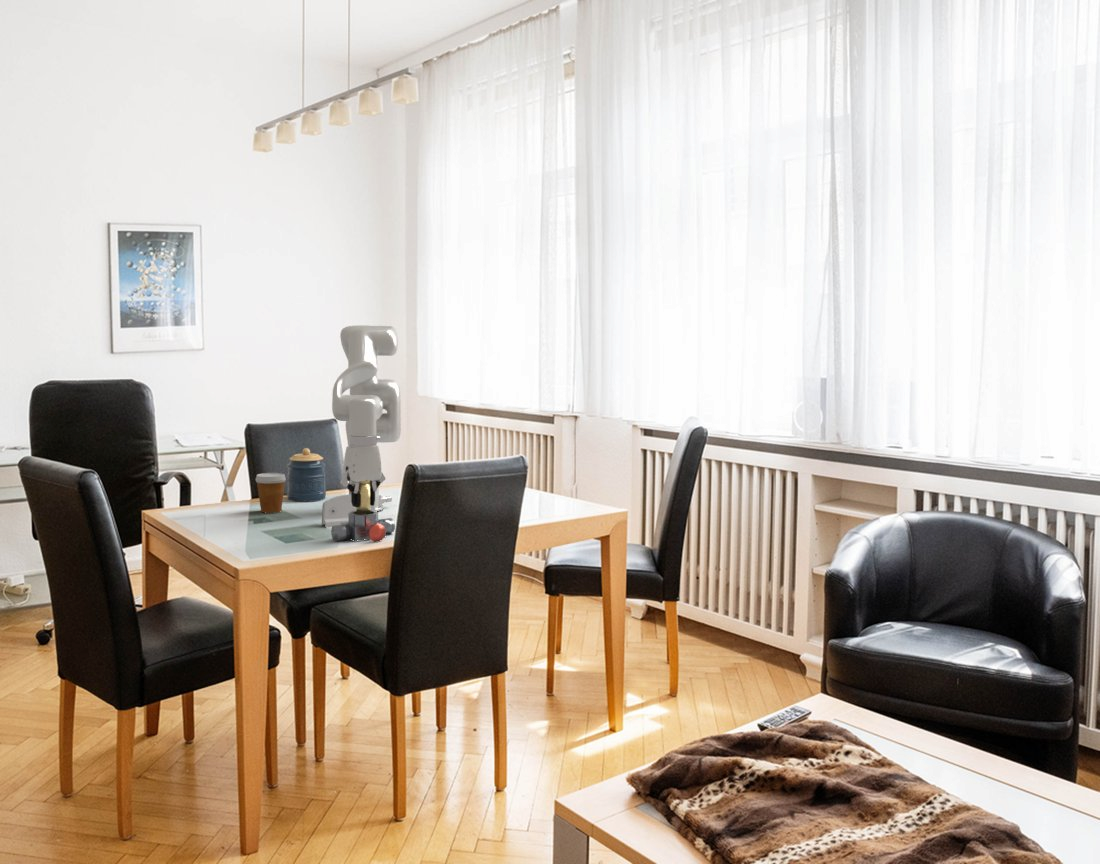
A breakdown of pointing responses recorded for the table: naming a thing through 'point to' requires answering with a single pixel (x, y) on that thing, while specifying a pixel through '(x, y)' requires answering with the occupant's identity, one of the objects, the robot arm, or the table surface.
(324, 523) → the white slotted block
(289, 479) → the canister
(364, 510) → the brass cylinder
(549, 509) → the table surface
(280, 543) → the table surface
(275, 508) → the disposable coffee cup
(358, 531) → the valve body
